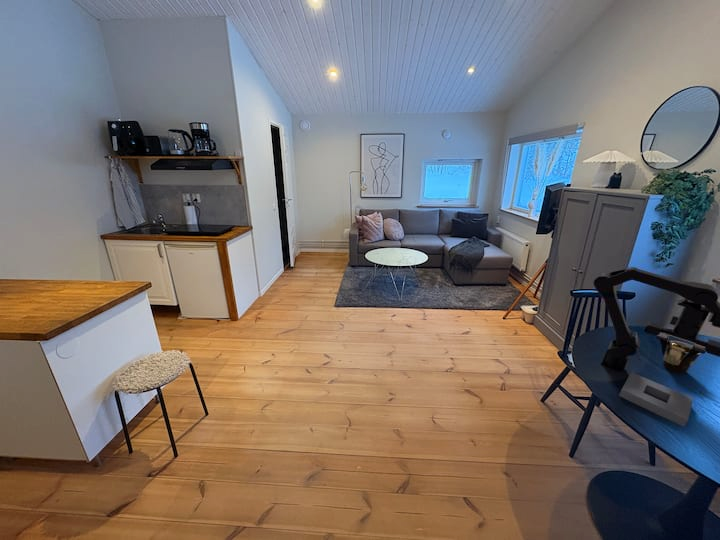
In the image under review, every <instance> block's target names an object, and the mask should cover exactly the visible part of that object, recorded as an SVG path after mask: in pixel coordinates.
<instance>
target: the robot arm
mask: <svg viewBox="0 0 720 540" xmlns="http://www.w3.org/2000/svg"><path fill="white" fill-rule="evenodd" d="M629 281H630V282H631V281H635V282H639V283H642V284H644V285H648V286H651V287H654V288H658V289H660V290H663V291H667V292H670V293H674V294H676V295H678V296H680V297H682V299H678V300H677V306H681V307H683V308H682V310H681V312H680V314H679V316H675V315H672V318H671V320H670V322H669V324H670V325H672V326H673V329H672V330H669V329H666V328H663V327H664V324H662V323H657V322H655V321H652V320H651V321H649V322H648V323H647V324H646V325H645V329H644V331H643V332H644V333H646V334H649V335H652V336H656V337H655V338H656V339H657V340H659V341H660V345H661V352H662V353H661V355H663V356H665V354H666V351H667V347H668V345H667V343H668V341H670V340H669V339H670V337H672V338H675V339H677V340H680V341H684V342H685V343H687V342H688V344H689V343H690V344H692V345H691V346H692V347H691V348H690V350H689V352H687V353H686V355H685V356H684V357H683V359H682V362H684V361H686V360H687V359H689V358H690V357H692V356H694V355H696V354H699V353H700V354H703V355H704V354H706V353H707V354H709V355H711V356H712V355H713V356H716V357H719V358H720V342H719V341H716V340H712V339H710V338H708V339H707V340H702V339H700V338H699V339H698V338H697V337H698V336H699V334H700V332H701V330H702V328H703V327H704V324H705V321H706V320H707V321H708V323H711V327H715V328H719V329H720V302H719V301H718V299H719V295H718V292H717V289H716V288H715V287H714V285H713V286H712V285H710V284H709V283H702V282H696V281H683V280H678V279H675V278H671V277H668V276H665V275H660V274H658V273H654V272H650V271H647V270H644V269H639V268H637V267H635V266H629V267H627V268H624V269H619V270H615V271H610V272H608V271H607V272H605V271H603V272H601V273H599V274H597V275H596V277H595V279H593V286H594V287H595V290H596V291H597V293H598V294H599V295H600V296H601V298H602V299H603V301H604V303H605V306H606V309H607V311H608V314H609V317H610V321H611V323H612V325H613V328H614V330H615V339H612V340H611V341H610V342H609V346H608V347H607V349H606V351H605V353H604V355H603V359H601V362H600V364H601V365H602V366H604V367H607V368H610V369H612V370H614V371H617V372H619V373H621V372H622V370H625V369H626V367H627V364H628V362H629V360H630V359H629V358H628V357H629V356H634V355H636V354H637V352H638V349H640V345H641V340H640V339H639V337H638V331H631V329H630V327H629V325H628V323H627V320H626V318H625V317H626V316H625V315H624V312H623V308H622V306H621V304H620V301H619V298H618V295H617V286H619V285H621V284H625V283H626V282H629ZM707 318H708V319H707Z"/></svg>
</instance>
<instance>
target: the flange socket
mask: <svg viewBox="0 0 720 540" xmlns="http://www.w3.org/2000/svg"><path fill="white" fill-rule="evenodd" d="M618 396H619V397H620V398H623V399H625V400H627V401H629V402H630V403H633V404H635V405H637V406H639V407H641V408H643V409H645V410H646V411H647V410H648V411H650V412H652V413H654V414H656V415H658V416H660V417H662V418H664V419H666V420H669V421H671V422H673V423H675V424H677V425H679V426H681V427H683V428H684V427H685V426H686V424H687V423H688V420H689V417H690V414H691V410H692V405H693V401H694V397H691V396H689V395H686V394H684V393H682V392H680V391H677V390H675V389H673V388H669V387H667V386H666V385H663V384H660V383H658V382H655V381H653V380H652V379H649V378H646V377H644V376H641V375H638V374H636V373H634V372H630V373H629V375H628V378H627V379H626V381H625V383H624V385H623V386H622V387H621V390H620V392H619V395H618Z"/></svg>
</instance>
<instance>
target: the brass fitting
mask: <svg viewBox="0 0 720 540" xmlns="http://www.w3.org/2000/svg"><path fill="white" fill-rule="evenodd" d="M681 342H682V341H679V342H677V340H668V343H667V347H668V346H669V348H668V350H667V349H666V351H667V352H666V351H665V354H664V355H663V356H664V357H663V361H664V360H665V361H666V362H668V363H670V364H673V365H679V363H680V361H681V359H682V357H683V355H684V353H685V352H689V350H690V347H689V346H687V345H686V344H687V343H686V344H683V343H684V342H683V343H681Z"/></svg>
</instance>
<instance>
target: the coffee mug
mask: <svg viewBox="0 0 720 540" xmlns="http://www.w3.org/2000/svg"><path fill="white" fill-rule="evenodd" d="M676 341H677V340H676ZM677 342H681V343H683V344H686V345H687V346H689V347H690V348H691V347H692V345H691V344H689V343H687V342H682V341H677ZM668 348H669V346H668V345H667V348H666V351H665V353H666V352H667V350H668ZM686 353H687V352H685V353H684V355H683V357H684V356H685V355H686ZM700 355H701V353H699V354H696V355H694V356H692V357H690V358H689V359H687V360H686V361H684V362H682V359H683V357H682V359H681V361H680V363H679V365H673V364H670V363H668V362H666V361H665V360H664V359H663V363H662V366H663V367H664V368H665V369H666V370H669V372H670V371H671V372H672V373H676V374H679V375H680V374H681V375H683V374H686V373H687V371H689V369H690V367H691V366H693V364H694V362H695V361H696V360H697V358H699V356H700Z"/></svg>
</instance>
